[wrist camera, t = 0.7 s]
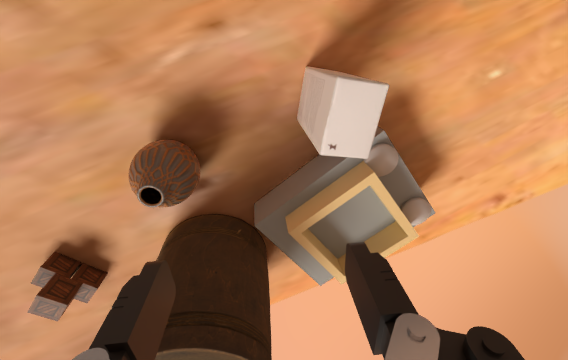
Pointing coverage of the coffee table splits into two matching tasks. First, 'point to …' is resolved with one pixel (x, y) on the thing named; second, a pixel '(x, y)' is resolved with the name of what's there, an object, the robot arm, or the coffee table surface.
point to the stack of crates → (63, 285)
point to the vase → (164, 173)
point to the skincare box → (340, 111)
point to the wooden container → (217, 291)
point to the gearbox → (343, 209)
